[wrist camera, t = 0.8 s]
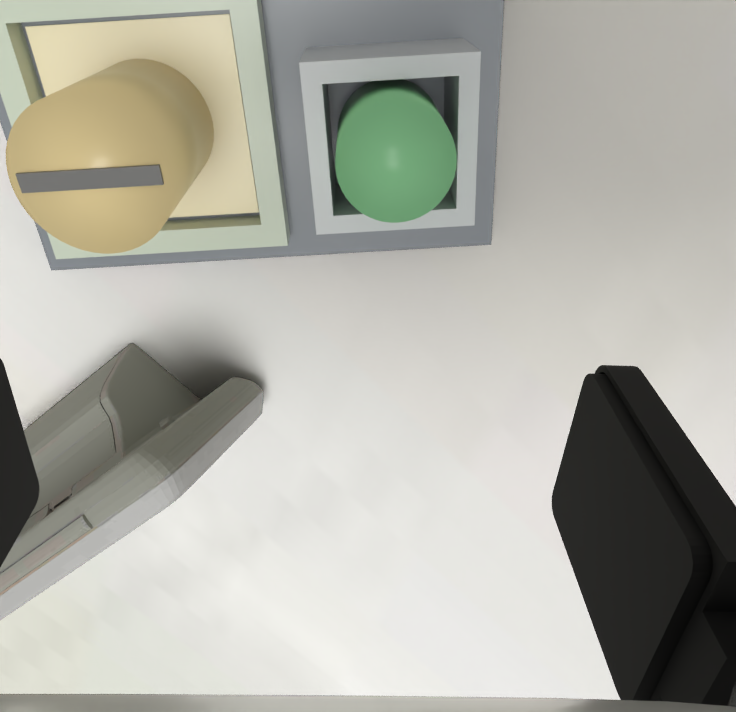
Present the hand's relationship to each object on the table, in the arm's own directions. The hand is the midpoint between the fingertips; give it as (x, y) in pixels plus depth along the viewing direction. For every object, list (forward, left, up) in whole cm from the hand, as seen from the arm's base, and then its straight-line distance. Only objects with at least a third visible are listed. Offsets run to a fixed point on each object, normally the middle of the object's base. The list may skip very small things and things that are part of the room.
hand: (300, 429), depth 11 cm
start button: (-2, -1, -17) cm, 17 cm away
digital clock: (+12, +15, -20) cm, 28 cm away
